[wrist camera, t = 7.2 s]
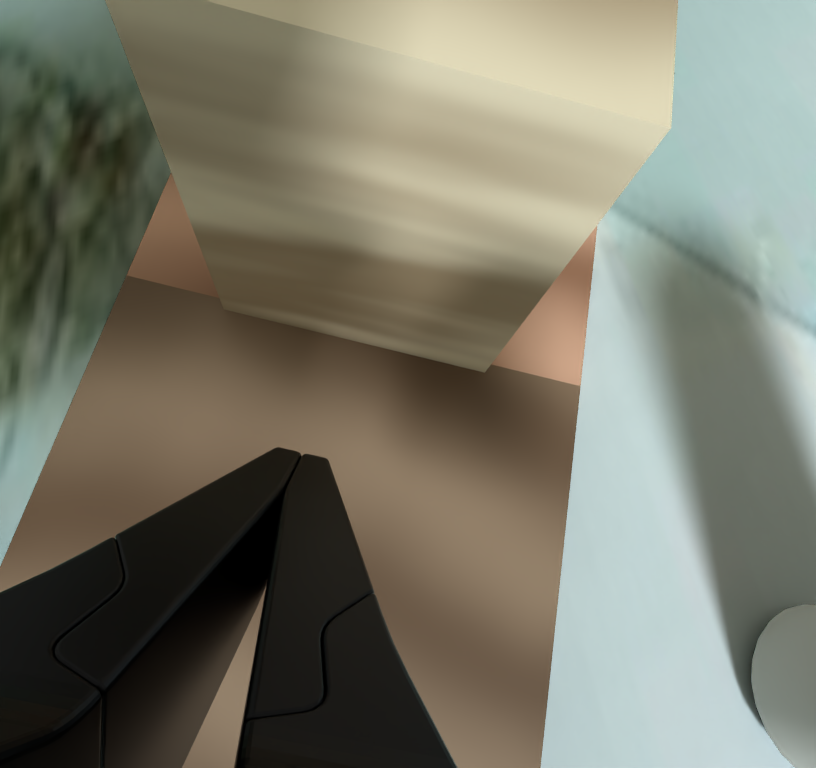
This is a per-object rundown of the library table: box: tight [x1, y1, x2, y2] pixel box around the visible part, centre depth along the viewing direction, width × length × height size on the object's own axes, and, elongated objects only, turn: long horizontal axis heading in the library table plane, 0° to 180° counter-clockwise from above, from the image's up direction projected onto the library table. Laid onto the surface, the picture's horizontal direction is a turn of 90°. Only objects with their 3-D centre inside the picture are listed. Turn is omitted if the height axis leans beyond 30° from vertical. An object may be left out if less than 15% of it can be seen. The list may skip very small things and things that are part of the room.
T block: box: [105, 0, 678, 373], centre depth 14 cm, size 10×8×10 cm
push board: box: [0, 173, 597, 768], centre depth 17 cm, size 25×14×1 cm, turn 168°
